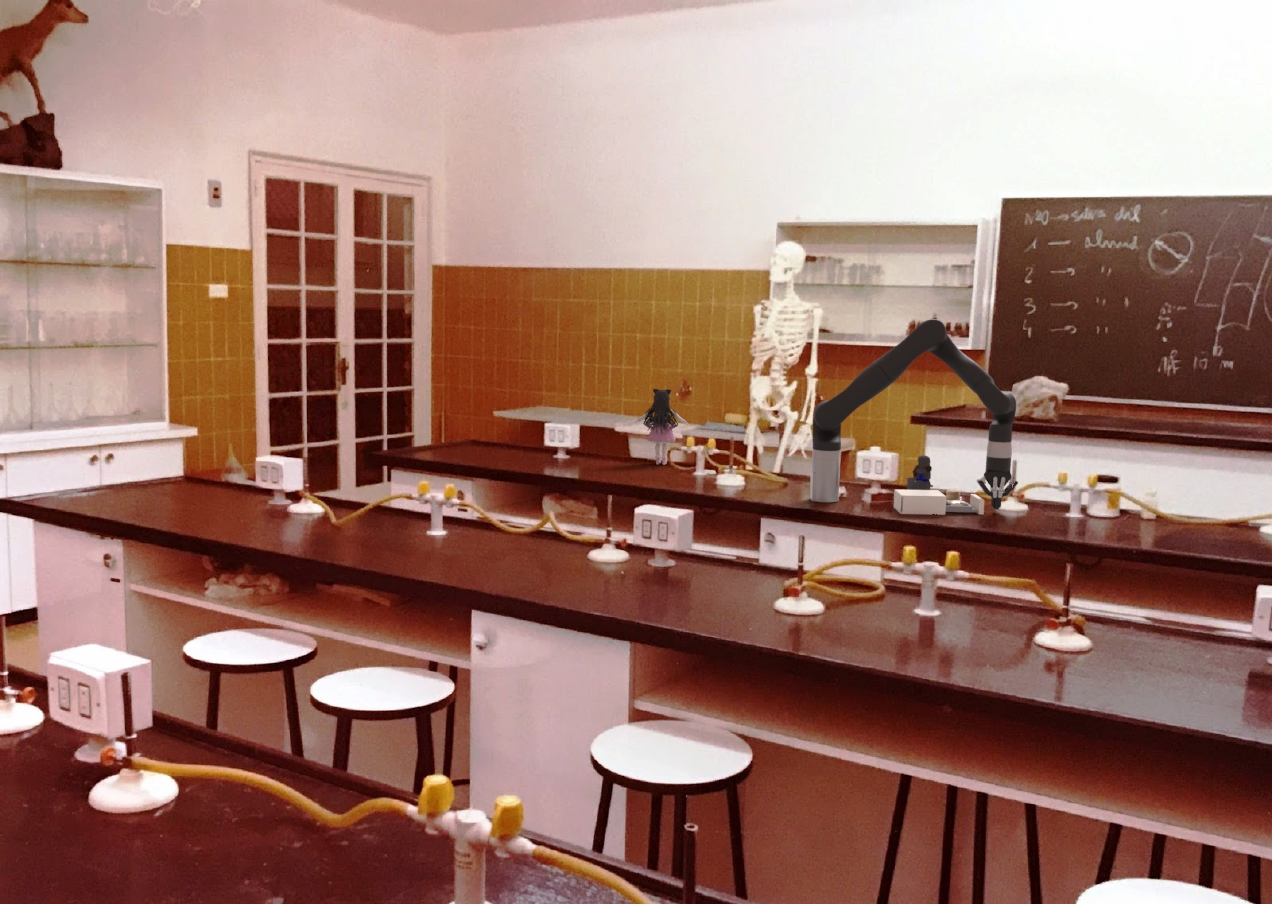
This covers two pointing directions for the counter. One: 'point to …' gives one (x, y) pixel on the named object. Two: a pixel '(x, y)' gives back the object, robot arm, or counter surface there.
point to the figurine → (661, 423)
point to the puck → (955, 503)
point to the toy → (921, 475)
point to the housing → (919, 502)
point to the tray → (969, 506)
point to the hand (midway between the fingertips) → (995, 508)
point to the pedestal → (953, 495)
